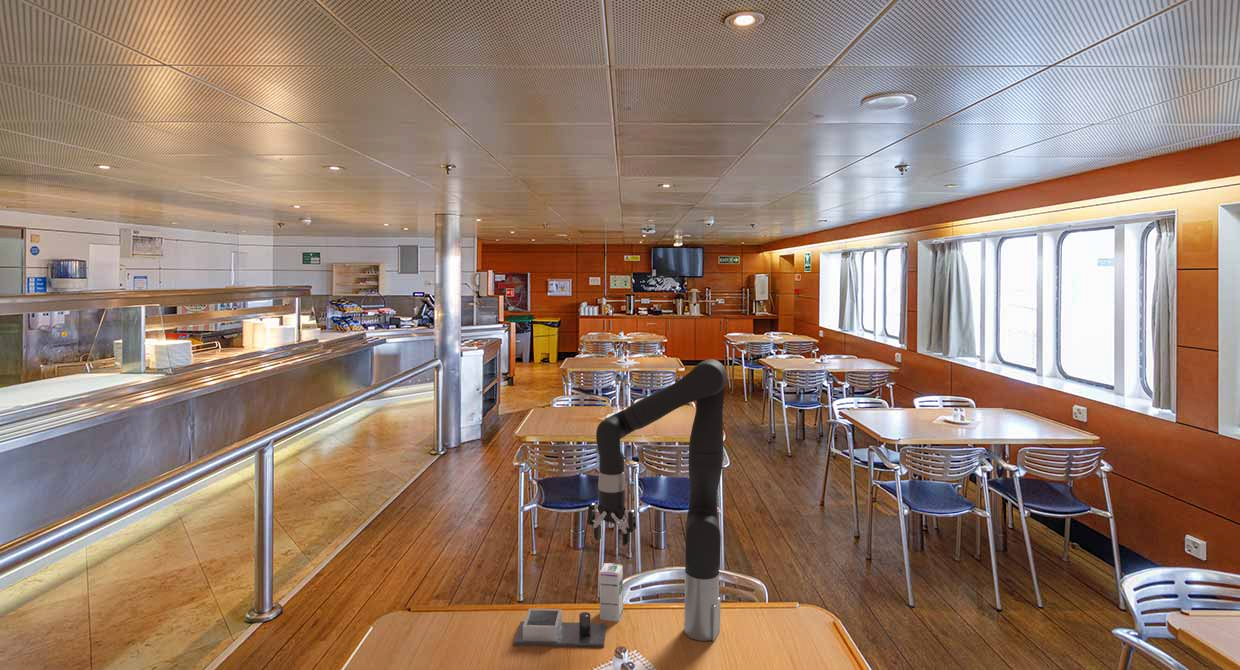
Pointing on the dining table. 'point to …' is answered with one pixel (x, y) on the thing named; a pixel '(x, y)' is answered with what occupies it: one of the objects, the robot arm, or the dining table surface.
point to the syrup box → (611, 592)
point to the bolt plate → (559, 630)
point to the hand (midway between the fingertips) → (611, 542)
